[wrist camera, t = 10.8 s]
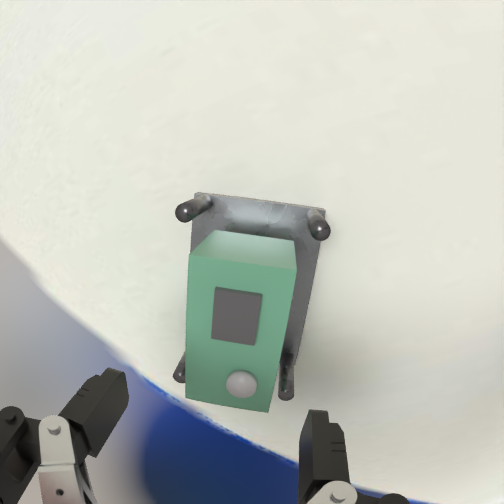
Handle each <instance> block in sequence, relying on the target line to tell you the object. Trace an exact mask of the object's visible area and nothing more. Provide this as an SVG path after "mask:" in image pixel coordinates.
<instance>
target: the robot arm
mask: <svg viewBox="0 0 504 504" xmlns="http://www.w3.org/2000/svg"><path fill="white" fill-rule="evenodd" d="M128 401H129V395H128V388H127V382H126V376H125V373H124V372H121V371H119V370H115V369H112V368H107V369H106V370H105V371H104V372H103V374H102V375H101V376H99V375H95V376H93V377H91V378H90V379H88V380H87V381H86V382H85V383H84V384H83V385H82V387H81V389H79V390H78V391H77V393H76V395H74V396H73V398H72V399H71V400H70V401H69V403H68V404H67V405H66V406H65V407H64V409H63V410H62V411H61V413H60V414H59V415H58V416H56V415H52V416H48V417H46V418H44V419H43V420H36V419H32V418H27V417H25V416H24V414H23V412H22V411H21V410H20V409H19V408H17V407H14V406H9V407H5V408H3V409H2V410H1V411H0V504H17V503H18V501H19V499H20V498H21V496H22V494H23V493H24V491H25V489H26V487H27V486H28V484H29V482H30V481H31V479H32V477H33V475H34V474H35V472H36V471H37V469H38V475H39V482H40V489H41V495H42V500H43V504H98V503H97V500H96V498H95V496H94V493H93V490H92V486H91V482H90V479H89V475H88V471H87V467H86V463H85V458H86V456H87V455H90V456H93V457H95V458H96V457H97V455H98V454H99V452H100V450H101V449H102V447H103V445H104V444H105V442H106V440H107V439H108V437H109V436H110V434H111V432H112V430H113V429H114V427H115V426H116V424H117V422H118V421H119V419H120V417H121V416H122V414H123V413H124V411H125V409H126V408H127V405H128ZM41 463H42V465H40V464H41ZM298 504H409V501H408V500H407V499H406V498H405V497H404V496H402V495H400V494H395V493H392V494H387V495H385V496H383V497H382V498H381V499H380V498H375V497H371V496H367V495H363V494H361V493H359V492H357V491H356V490H355V488H354V487H353V486H352V485H351V483H350V479H349V471H348V462H347V454H346V446H345V439H344V432H343V431H342V429H341V428H340V426H339V425H338V423H329V417H328V412H327V411H322V410H309V412H308V414H307V417H306V420H305V423H304V426H303V428H302V431H301V435H300V441H299V483H298Z"/></svg>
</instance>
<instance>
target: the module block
mask: <svg viewBox="0 0 504 504" xmlns="http://www.w3.org/2000/svg"><path fill="white" fill-rule="evenodd" d="M296 273H297V266H296V256H295V247H294V241H291V240H284V239H277V238H270V237H263V236H256V235H249V234H242V233H235V232H227V231H220V230H214V231H213V232H211V233H210V234H209V235H208V236H207V237H206V238H205V239H204V240H203V241H202V242H201V243H200V244H199V245H198V246H197V247H196V248H195V249H194V250H193V251H192V252H191V253H190V254H189V264H188V284H187V309H186V356H185V394H186V398H188V399H192V400H197V401H202V402H207V403H212V404H217V405H222V406H228V407H234V408H240V409H246V410H253V411H260V412H267V413H268V411H269V407H270V402H271V398H272V394H273V389H274V385H275V380H276V375H277V371H278V366H279V361H280V357H281V352H282V347H283V342H284V337H285V332H286V327H287V322H288V317H289V312H290V306H291V301H292V296H293V290H294V285H295V279H296Z"/></svg>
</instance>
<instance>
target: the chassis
mask: <svg viewBox="0 0 504 504" xmlns="http://www.w3.org/2000/svg"><path fill="white" fill-rule="evenodd" d="M175 215H176V217H177V219H178V220H179V221H181V222H184V223H186V222H189V221H191V220H192V219H193V220H192V234H191V250H190V253H191V252H192V251H193V250H194V249H195V248H196V247H197V246H198V245H199V244H200V243H201V242H202V241H203V240H204V239H205V238H206V237H207V236H208V235H209V234H210V233H211V232H213V231H214V230H220V231H227V232H235V233H242V234H249V235H256V236H263V237H270V238H277V239H284V240H291V241H294V247H295V256H296V266H297V273H296V279H295V285H294V290H293V296H292V301H291V306H290V312H289V317H288V322H287V327H286V332H285V337H284V342H283V347H282V352H281V357H280V361H279V363H280V372H279V391H278V397H279V398H280V399H281V400H284V401H288V400H291V399H292V398H293V397H294V365H295V362H296V358H297V354H298V350H299V345H300V341H301V336H302V332H303V327H304V323H305V318H306V314H307V309H308V304H309V299H310V294H311V289H312V284H313V279H314V274H315V269H316V263H317V258H318V252H319V247H320V241H323V240H326V239H327V238H328V237H329V235H330V232H331V230H330V227H329V225H328V223H327V222H326V221H325V219H324V217H325V209H322V208H316V207H309V206H303V205H296V204H289V203H281V202H274V201H267V200H259V199H251V198H243V197H235V196H226V195H218V194H208V193H199V192H198V193H195V194H194V199H191V200H189V201H187V202H184V203H182V204H180V205H178V206H177V208H176V211H175ZM185 356H186V350H185V352H184V354H183V356H182V358H181V360H180V362H179V364H178V366H177V368H176V370H175V372H174V374H173V378H174V380H175V381H177V382H179V383H185Z"/></svg>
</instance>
